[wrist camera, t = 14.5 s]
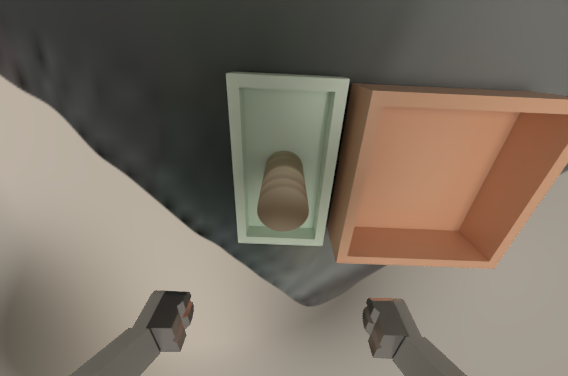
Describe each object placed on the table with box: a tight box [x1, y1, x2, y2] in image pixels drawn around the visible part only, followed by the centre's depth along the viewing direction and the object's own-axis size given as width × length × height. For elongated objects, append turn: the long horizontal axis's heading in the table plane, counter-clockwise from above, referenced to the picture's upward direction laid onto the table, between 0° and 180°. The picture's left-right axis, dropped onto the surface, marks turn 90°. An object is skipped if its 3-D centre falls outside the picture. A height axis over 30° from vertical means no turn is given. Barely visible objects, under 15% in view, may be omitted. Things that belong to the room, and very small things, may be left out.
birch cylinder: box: [257, 151, 309, 232], centre depth 21 cm, size 4×4×8 cm
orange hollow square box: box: [328, 83, 568, 269], centre depth 23 cm, size 17×17×6 cm
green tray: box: [226, 72, 350, 246], centre depth 24 cm, size 18×10×3 cm, turn 178°
